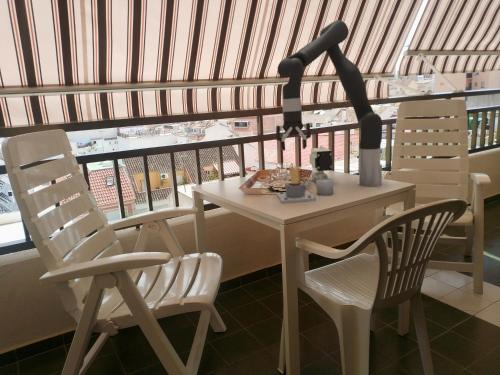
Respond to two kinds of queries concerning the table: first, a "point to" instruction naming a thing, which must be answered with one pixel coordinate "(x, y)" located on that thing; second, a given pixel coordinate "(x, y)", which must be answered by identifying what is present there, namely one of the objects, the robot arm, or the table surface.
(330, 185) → the grey wide stub
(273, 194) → the table surface
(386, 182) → the table surface
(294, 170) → the cylinder
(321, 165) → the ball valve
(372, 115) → the robot arm
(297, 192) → the flange coupling
